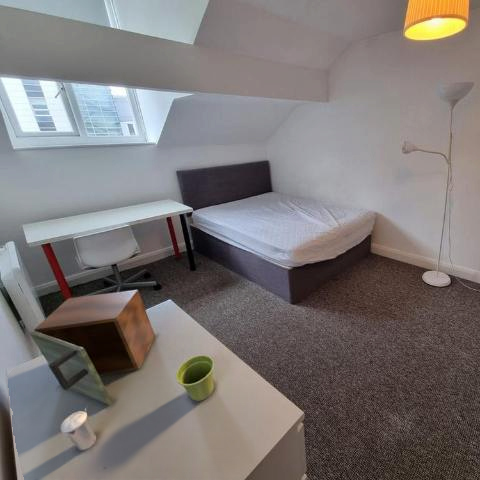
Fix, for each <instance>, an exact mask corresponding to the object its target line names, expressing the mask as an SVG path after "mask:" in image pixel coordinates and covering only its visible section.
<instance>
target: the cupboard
mask: <svg viewBox="0 0 480 480" xmlns="http://www.w3.org/2000/svg"><path fill="white" fill-rule="evenodd" d="M33 331H36V332H39V333H42V334H45V335H47V336H50V337H53V338H56V339H59V340H62V341H65V342H67V343H70V344H73V345H76V346H79V347H82V348H84V349H85V351H86V353H87V355H88V356H89V358H90V360H91V362H92V364H93V366H94V368H95V370H96V371H97V373H98V375H99V377H102V376H107V375H113V374H118V373H119V374H121V373H125V372H131V371H137V370H139V369H140V368H141V366H142V364H143V362H144V361H145V357H146V356H147V355H148V352H149V351H150V348H151V346H152V345H153V343H154V340H155V338H156V335H155V332H154V328H153V327H152V323H151V321H150V318H149V316H148V313H147V311H146V308H145V305H144V302H143V299H142V297H141V294H140V292H139V290H138V289H133V290H124V291H116V292H108V293H101V294H91V295H85V296H76V297H69V298H66V299H65V301H63V302H62V303H61V304H60V305H59V306H58V307H57V308H56V309H55V310H53V312H51V314H49V315H48V316H47V317H46V318H44V320H43V321H42V322H40V323H39V324H38V325H37V326H36V327H35V328H34V329H33Z"/></svg>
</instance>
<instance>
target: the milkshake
mask: <svg viewBox="0 0 480 480" xmlns="http://www.w3.org/2000/svg"><path fill="white" fill-rule="evenodd" d="M87 405H88V404H87V403H84V411H83V410H79V411H76V412H73V413H72V414H69V416H67V417H66V418H65V419H64V420H63V421H62V422H61V425H60V431H61V432H62V433H63V435H65V436H66V437H67V438H68V439H69V440H70V441H71V442H72V443H73V444H74V445H75V447H76V448H78V450H80V451H85V450H88V449H90V448H91V447H92V446H93V445H94V444H95V442H96V440H97V436H96V433H95V431H94V429H93V427H92V424H91V421H90V418H89V415H88V413H87V407H88V406H87Z"/></svg>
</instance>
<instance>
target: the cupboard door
mask: <svg viewBox="0 0 480 480" xmlns="http://www.w3.org/2000/svg"><path fill="white" fill-rule="evenodd" d="M29 335H30V337H31V339H32V340H33V342H34V343H35V345H36V346H37V347H38V349H39V351H40V353H41V354H42V356H43V357H44V359H45V360H46V362H47V364H48V367H49V369H50V371H51V372H52V374H53V376H54V377H55V379H56V380H57V382H58V384H59V385H60V386H61V388H62V390H63V391H67V390H69V389H70V390H73V391H75V392H77V393H79V394H82V395H84V396H87V397H89V398H91V399H93V400H96V401H99V402H101V403H103V404H106V405H108V406H110V405H111V404H113V399H112V397H111V395H110V394H109V392H108V390H107V388H106V387H105V384H104V383H103V381H102V379H101V376H99V375H98V373H97V371H96V370H95V368H94V366H93V364H92V362H91V360H90V358H89V356H88V355H87V353H86V351H85V349H84V348H82V347H79V346H76V345H73V344H70V343H67V342H65V341H62V340H59V339H56V338H53V337H50V336H47V335H45V334H42V333H39V332H36V331H34V330H33V331H31V332H29Z"/></svg>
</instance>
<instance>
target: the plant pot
mask: <svg viewBox="0 0 480 480" xmlns="http://www.w3.org/2000/svg"><path fill="white" fill-rule="evenodd" d="M214 368H215V362H214V359H213V357H211V356H209V355H206V354H205V355H204V354H201V355H195V356H192V357H190V358H189V359H187V360H185V361H184V362H183V363H182V364H181V365H180V366H179V367H178V369H177V371H176V374H175V379H176V382H177V383H178V384H179V385H181V386H182V387H183V388H184V389H185V390H186V392H187V394H188V395H189V397H190V398H191V400H193V401H198V402H200V401H203V400H206V399H207V398H208V397H210V396H211V394H212V393H213V391H214V389H215V385H214V375H213V372H214Z"/></svg>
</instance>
